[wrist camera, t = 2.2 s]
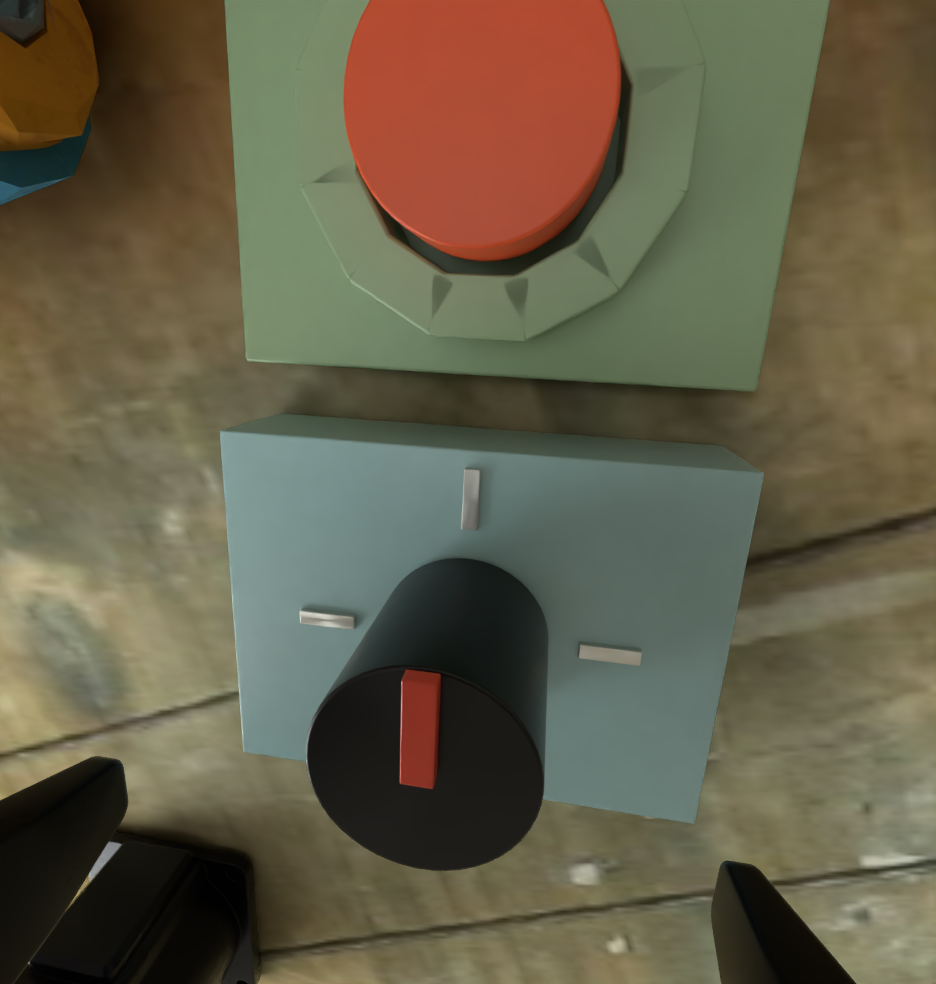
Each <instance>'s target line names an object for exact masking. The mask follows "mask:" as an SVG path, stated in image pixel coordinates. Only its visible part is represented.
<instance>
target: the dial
mask: <svg viewBox="0 0 936 984" xmlns="http://www.w3.org/2000/svg"><path fill="white" fill-rule="evenodd" d="M548 643H549V636H548V628H547V624H546V620H545V616H544V614H543V612H542V609H541V607H540V605H539V604H538V602H537V600H536V599H535V597H534V596H533V595H532V593H531V592H530V591H529V590H528V588H527V587H526V586H524V585H523V584H522V583H521V582H520V581H519V580H518V579H517V578H515V577H514V576H513V575H511V574H510V573H508V572H506V571H505V570H503V569H501V568H499V567H497V566H494V565H492V564H490V563H486V562H483V561H479V560H474V559H466V558H452V559H443V560H438V561H434V562H431V563H428V564H426V565H423V566H421V567H420V568H418V569H416V570H414V571H413V572H411V573H410V574H409V575H407V576H406V577H405V578H404V579H403V580H402V581H401V582H400V583H399V584H398V585H397V587H396V588H395V589H394V590H393V592H392V594H391V595H390V597H389V598H388V600H387V601H386V603H385V604H384V606H383V608H382V609H381V611H380V612H379V614H378V615H377V617H376V618H375V620H374V622H373V623H372V625H371V626H370V628H369V629H368V631H367V632H366V634H365V636H364V637H363V639H362V640H361V642H360V643H359V645H358V646H357V648H356V650H355V651H354V653H353V654H352V656H351V657H350V659H349V660H348V662H347V663H346V665H345V667H344V668H343V670H342V671H341V673H340V674H339V676H338V677H337V679H336V681H335V682H334V684H333V685H332V687H331V688H330V690H329V691H328V693H327V695H326V696H325V698H324V699H323V701H322V702H321V704H320V705H319V707H318V709H317V711H316V713H315V714H314V716H313V718H312V721H311V724H310V727H309V730H308V735H307V740H306V764H307V771H308V775H309V779H310V782H311V785H312V787H313V790H314V792H315V795H316V796H317V798H318V800H319V802H320V804H321V805H322V807H323V808H324V810H325V811H326V813H327V814H328V815H329V817H330V818H331V819H332V820H333V821H334V822H335V824H336V825H337V826H338V827H339V828H340V829H341V830H342V831H343V832H345V833H346V834H347V835H348V836H349V837H350V838H351V839H353V840H354V841H356V842H357V843H358V844H360V845H361V846H362V847H364V848H366V849H368V850H369V851H371V852H373V853H374V854H376V855H378V856H381V857H383V858H385V859H387V860H390V861H392V862H395V863H398V864H401V865H405V866H409V867H413V868H417V869H425V870H432V871H451V870H462V869H467V868H472V867H476V866H479V865H482V864H485V863H488V862H490V861H492V860H494V859H497V858H499V857H501V856H502V855H504V854H505V853H507V852H508V851H510V850H511V849H512V848H513V847H515V846H516V845H517V844H518V843H519V842H520V841H521V840H522V839H523V838H524V836H525V835H526V834H527V833H528V831H529V830H530V829H531V827H532V825H533V823H534V822H535V820H536V818H537V816H538V813H539V810H540V808H541V805H542V800H543V795H544V776H545V743H546V710H547V677H548Z"/></svg>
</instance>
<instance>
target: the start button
mask: <svg viewBox="0 0 936 984" xmlns="http://www.w3.org/2000/svg"><path fill="white" fill-rule="evenodd" d="M620 93H621V65H620V53H619V48H618V43H617V37H616V32H615V29H614V26H613V23H612V20H611V17H610V14H609V11H608V9H607V7H606V5H605V3H604V1H603V0H370V1H369V2H368V4H367V6H366V8H365V10H364V12H363V14H362V16H361V18H360V20H359V23H358V25H357V28H356V30H355V33H354V36H353V39H352V42H351V46H350V50H349V54H348V57H347V64H346V70H345V77H344V97H343V102H344V117H345V124H346V130H347V136H348V141H349V144H350V147H351V151H352V154H353V157H354V160H355V162H356V165H357V167H358V169H359V172H360V174H361V176H362V178H363V180H364V181H365V183H366V185H367V186H368V188H369V190H370V192H371V193H372V194H373V196H374V197H375V198H376V200H377V201H378V202H379V204H380V205H381V206H382V207H383V208H384V209H385V210H386V211H387V212H388V213H389V214H390V215H391V216H392V217H393V218H394V219H395V220H396V221H397V222H399V223H400V224H401V225H403V226H404V227H405V228H406V229H408V230H409V231H411V232H412V233H413V234H415V235H416V236H418V237H419V238H421V239H422V240H423V241H425V242H426V243H428V244H429V245H431V246H433V247H434V248H436V249H438V250H440V251H442V252H444V253H447V254H449V255H451V256H454V257H458V258H462V259H466V260H472V261H482V262H484V261H500V260H505V259H511V258H514V257H518V256H521V255H524V254H527V253H529V252H531V251H533V250H535V249H537V248H539V247H541V246H542V245H544V244H546V243H547V242H549V241H550V240H552V239H553V238H554V237H556V236H557V235H558V234H559V233H560V232H562V231H563V230H564V229H565V228H566V227H567V226H568V225H569V224H570V223H571V222H572V221H573V220H574V218H575V217H576V216H577V215H578V214H579V212H580V211H581V210H582V208H583V207H584V206H585V204H586V203H587V201H588V200H589V198H590V196H591V194H592V192H593V191H594V189H595V187H596V185H597V183H598V180H599V178H600V175H601V173H602V170H603V167H604V164H605V160H606V157H607V153H608V150H609V146H610V142H611V139H612V135H613V131H614V128H615V124H616V120H617V115H618V109H619V103H620Z"/></svg>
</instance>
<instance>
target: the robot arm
mask: <svg viewBox="0 0 936 984" xmlns="http://www.w3.org/2000/svg"><path fill="white" fill-rule="evenodd" d="M127 807H128V795H127V788H126V781H125V774H124V767H123V764H122V763H121V762H120V760H117V759H113V758H107V757H101V756H95V757H91V758H89V759H86V760H84V761H82V762H80V763H78V764H76V765H74V766H72V767H70V768H67V769H65V770H63V771H61V772H59V773H57V774H55V775H53V776H51V777H49V778H46V779H44V780H42V781H40V782H38V783H36V784H34V785H32V786H30V787H28V788H25V789H23V790H21V791H19V792H17V793H15V794H13V795H11V796H9V797H7V798H4V799H2V800H0V984H258V982H259V980H260V968H259V954H258V941H257V927H256V914H255V901H254V887H253V874H252V866H251V863H250V862H249V861H248V859H246V858H245V857H243V856H241V855H237V854H232V853H226V852H221V851H215V850H210V849H205V848H199V847H194V846H189V845H183V844H178V843H172V842H167V841H162V840H156V839H151V838H146V837H140V836H135V835H130V834H124V833H119V832H115V831H116V829H117V828H118V826H119V825H120V823H121V821H122V820H123V818H124V816H125V813H126V810H127ZM88 874H89V878H90V882H89V883H88V884H87V885H86V887H85V888H84V889H83V890H82V891H81V892H80V894H79V895H78V896H77V897H76V898H75V899H74V901H73V902H72V900H73V898H74V897H75V895H76V894H77V892H78V890H79V889H80V887H81V886H82V884H83V882H84V881H85V879H86V878H87V876H88ZM71 902H72V903H71ZM70 903H71V904H70ZM711 920H712V929H713V935H714V941H715V947H716V954H717V960H718V966H719V972H720V978H721V984H856V983H855V981H854V980H853V979H852V978H851V977H850V976H849V974H848V973H847V972H846V971H845V970H844V968H843V967H842V966H841V965H840V964H839V963H838V961H837V960H836V959H835V958H834V957H833V956H832V954H831V953H830V952H829V951H828V950H827V949H826V947H825V946H824V945H823V944H822V943H821V941H820V940H819V939H818V938H817V937H816V936H815V934H814V933H813V932H812V931H811V930H810V929H809V927H808V926H807V925H806V924H805V923H804V922H803V920H802V919H801V918H800V917H799V916H798V914H797V913H796V912H795V911H794V910H793V909H792V907H791V906H790V905H789V904H788V903H787V902H786V900H785V899H784V898H783V897H782V896H781V895H780V893H779V892H778V891H777V890H776V889H775V887H774V886H773V885H772V884H771V883H770V882H769V880H768V879H767V878H766V877H765V876H764V875H763V873H762V872H761V871H760V870H759V869H758V868H756V867H755V866H754V865H751V864H746V863H740V862H734V861H724V862H723V863H722V864H721V866H720V869H719V874H718V878H717V883H716V887H715V892H714V896H713V901H712V906H711Z"/></svg>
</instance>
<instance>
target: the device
mask: <svg viewBox="0 0 936 984" xmlns="http://www.w3.org/2000/svg"><path fill="white" fill-rule="evenodd" d="M99 81H100V80H99V74H98V68H97V62H96V55H95V49H94V43H93V37H92V32H91V29H90V27H89V25H88V22H87V20H86V18H85V15H84V13H83V11H82V8H81V6H80V4H79V1H78V0H0V205H2V204H4V203H7V202H9V201H12V200H14V199H17V198H19V197H22V196H24V195H27V194H29V193H32V192H34V191H37V190H39V189H42V188H44V187H47V186H49V185H52V184H54V183H57V182H59V181H62V180H64V179H67V178H69V177H72V176H74V174H75V171H76V168H77V165H78V163H79V160H80V157H81V154H82V152H83V149H84V146H85V144H86V141H87V138H88V135H89V133H90V130H91V126H90V120H89V113H90V110H91V107H92V104H93V100H94V97H95V94H96V91H97V88H98V85H99Z"/></svg>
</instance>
